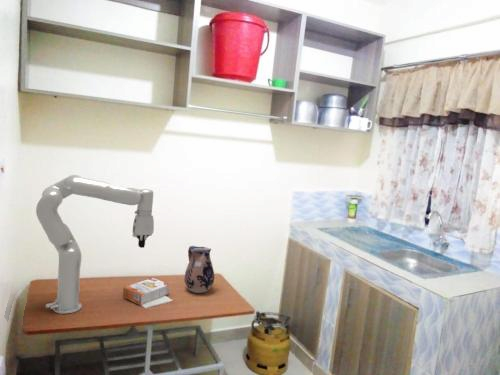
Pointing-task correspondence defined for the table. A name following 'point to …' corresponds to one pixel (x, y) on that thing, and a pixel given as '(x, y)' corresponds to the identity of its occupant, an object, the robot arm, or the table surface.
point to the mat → (157, 302)
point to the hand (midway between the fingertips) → (141, 246)
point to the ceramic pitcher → (199, 270)
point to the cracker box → (146, 291)
